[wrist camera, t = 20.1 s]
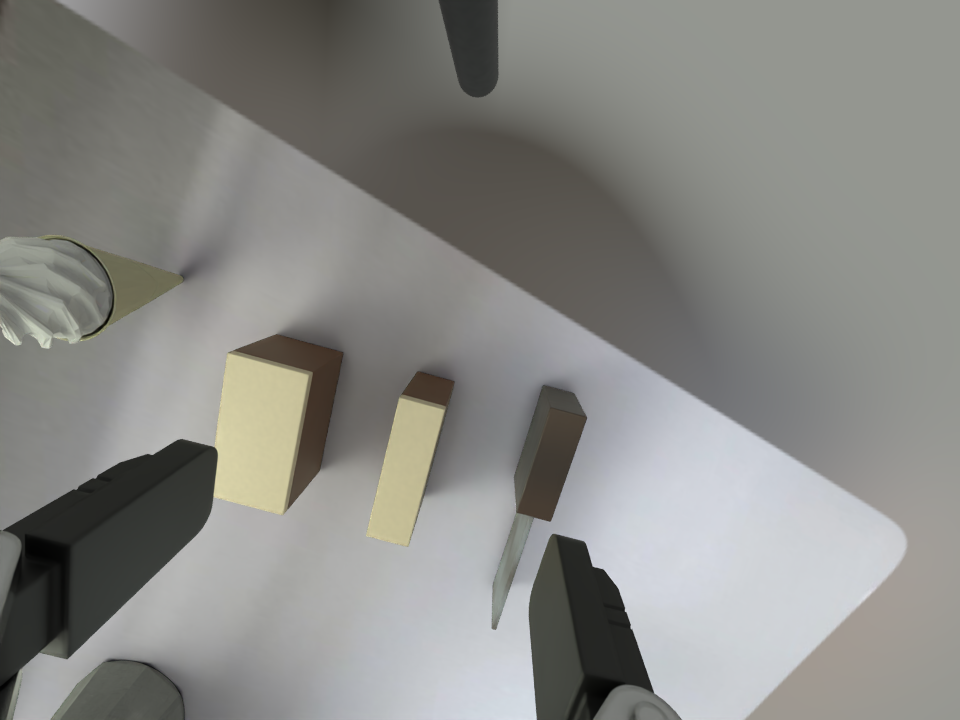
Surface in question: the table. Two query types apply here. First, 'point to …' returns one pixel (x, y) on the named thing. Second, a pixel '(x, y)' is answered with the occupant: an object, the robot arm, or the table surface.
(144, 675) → the coffeepot
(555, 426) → the knife
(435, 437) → the cake slice
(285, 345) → the cake
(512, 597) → the table surface
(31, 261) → the ice cream cone
